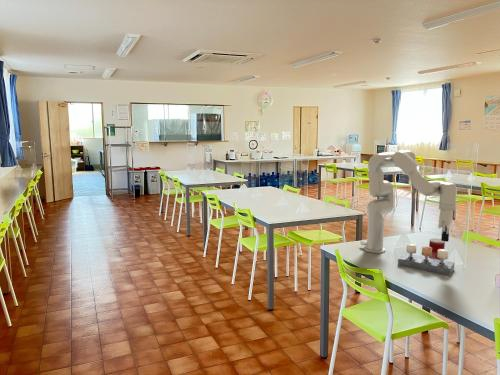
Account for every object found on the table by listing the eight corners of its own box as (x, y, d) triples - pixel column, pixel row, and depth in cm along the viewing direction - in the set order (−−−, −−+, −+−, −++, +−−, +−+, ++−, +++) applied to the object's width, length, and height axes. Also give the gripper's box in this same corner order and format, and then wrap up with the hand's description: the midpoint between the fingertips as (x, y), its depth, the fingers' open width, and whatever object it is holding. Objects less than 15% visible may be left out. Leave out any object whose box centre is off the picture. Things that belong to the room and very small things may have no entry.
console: (397, 265, 227) (398, 258, 226) (404, 259, 236) (404, 253, 236) (449, 276, 211) (449, 268, 211) (453, 269, 221) (454, 262, 220)
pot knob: (419, 261, 223) (421, 247, 222) (422, 258, 227) (423, 245, 225) (429, 263, 220) (430, 249, 219) (432, 260, 224) (433, 246, 223)
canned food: (444, 261, 234) (446, 242, 233) (429, 260, 236) (431, 241, 234) (441, 257, 242) (443, 239, 240) (427, 256, 243) (428, 238, 242)
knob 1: (404, 258, 227) (405, 245, 226) (407, 256, 231) (408, 243, 230) (414, 260, 224) (415, 246, 223) (416, 257, 228) (417, 244, 227)
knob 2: (435, 264, 218) (436, 250, 217) (437, 261, 222) (439, 248, 221) (446, 266, 215) (447, 252, 214) (448, 263, 219) (449, 250, 218)
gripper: (442, 203, 222) (440, 236, 224) (435, 208, 210) (433, 243, 212) (457, 205, 217) (455, 239, 220) (452, 209, 205) (449, 245, 208)
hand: (444, 240), depth 216 cm, fingers closed
